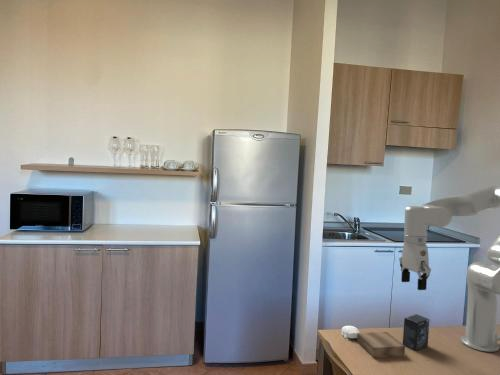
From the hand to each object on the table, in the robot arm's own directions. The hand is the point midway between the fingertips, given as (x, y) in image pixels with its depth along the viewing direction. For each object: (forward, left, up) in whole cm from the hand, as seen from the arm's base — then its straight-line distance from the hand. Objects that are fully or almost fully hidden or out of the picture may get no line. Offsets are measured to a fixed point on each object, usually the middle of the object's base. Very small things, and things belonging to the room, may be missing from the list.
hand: (413, 285), depth 140 cm
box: (-2, 0, -23) cm, 23 cm away
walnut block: (+13, +1, -23) cm, 27 cm away
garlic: (+19, -11, -23) cm, 32 cm away
